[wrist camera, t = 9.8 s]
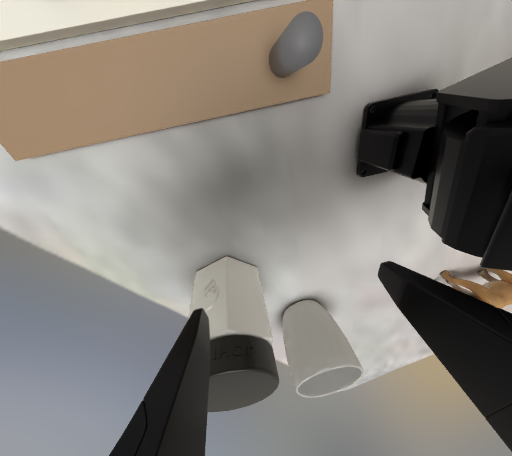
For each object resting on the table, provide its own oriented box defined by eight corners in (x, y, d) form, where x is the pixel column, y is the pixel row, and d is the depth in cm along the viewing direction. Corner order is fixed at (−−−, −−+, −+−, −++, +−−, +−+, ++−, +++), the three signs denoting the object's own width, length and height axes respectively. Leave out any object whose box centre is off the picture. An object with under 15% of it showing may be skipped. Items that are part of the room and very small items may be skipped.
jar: (241, 245, 22) (256, 355, 12) (269, 283, 26) (298, 387, 16) (180, 277, 23) (148, 401, 13) (216, 308, 28) (213, 420, 18)
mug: (265, 317, 31) (281, 393, 22) (305, 286, 28) (341, 360, 20) (309, 336, 37) (335, 403, 28) (347, 312, 34) (387, 378, 26)
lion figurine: (514, 246, 31) (608, 289, 24) (501, 268, 34) (580, 312, 26) (429, 274, 32) (494, 325, 24) (423, 292, 34) (479, 343, 27)
